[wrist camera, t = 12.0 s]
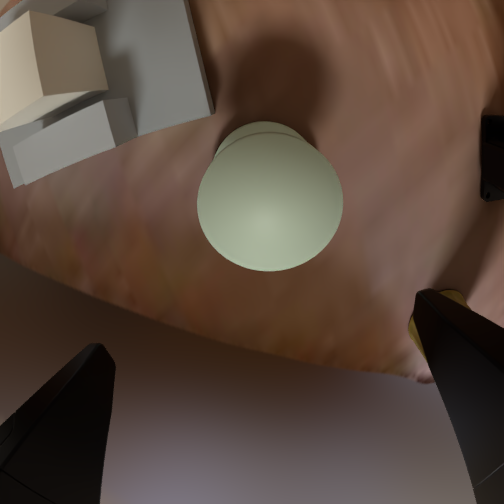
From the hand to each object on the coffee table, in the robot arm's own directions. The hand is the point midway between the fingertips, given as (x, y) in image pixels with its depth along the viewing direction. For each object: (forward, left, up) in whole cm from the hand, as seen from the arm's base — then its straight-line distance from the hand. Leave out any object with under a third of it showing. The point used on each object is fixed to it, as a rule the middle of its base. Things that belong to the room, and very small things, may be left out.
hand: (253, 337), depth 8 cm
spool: (-1, -1, -12) cm, 12 cm away
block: (+8, -10, -10) cm, 16 cm away
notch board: (+8, -10, -12) cm, 18 cm away
